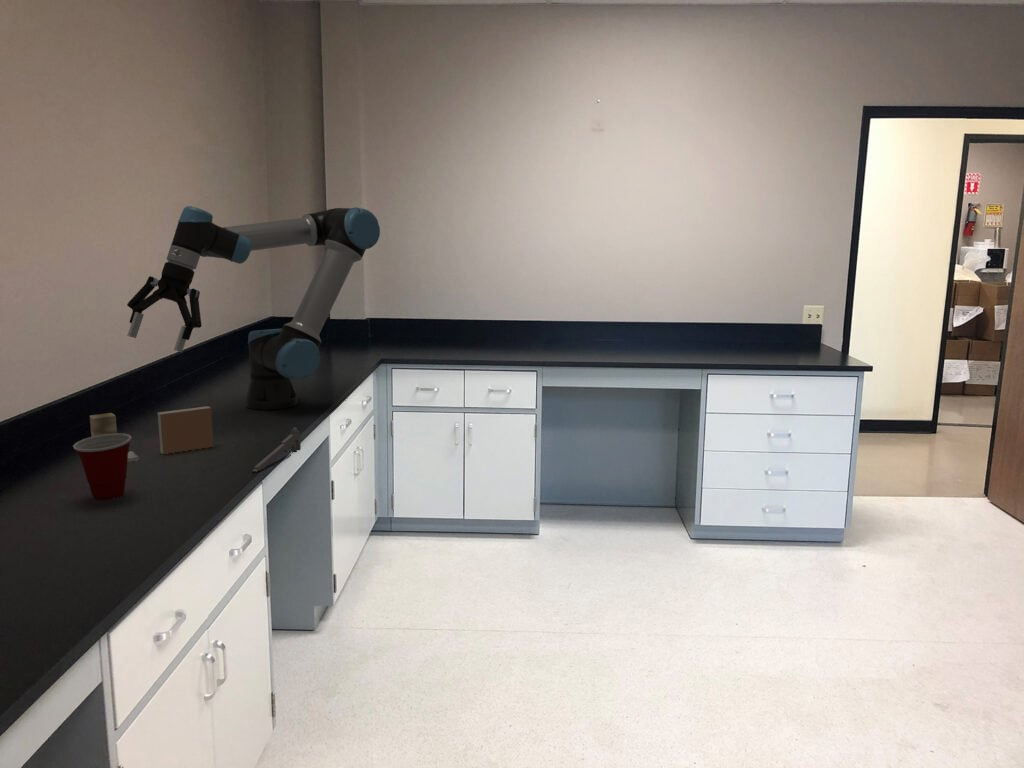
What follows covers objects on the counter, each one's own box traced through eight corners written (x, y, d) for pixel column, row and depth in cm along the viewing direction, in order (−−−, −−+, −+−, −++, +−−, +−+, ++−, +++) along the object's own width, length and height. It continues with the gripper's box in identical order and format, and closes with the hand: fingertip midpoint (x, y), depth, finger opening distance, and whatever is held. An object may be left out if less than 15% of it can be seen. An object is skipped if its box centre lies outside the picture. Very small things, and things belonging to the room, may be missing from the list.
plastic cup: (70, 495, 176) (64, 439, 173) (124, 484, 183) (119, 430, 181) (88, 508, 168) (83, 449, 166) (144, 496, 175) (140, 439, 173)
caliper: (296, 450, 211) (295, 425, 210) (300, 451, 211) (299, 426, 210) (251, 474, 192) (250, 447, 191) (255, 474, 191) (254, 447, 190)
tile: (210, 445, 215) (207, 406, 213) (213, 447, 213) (211, 408, 211) (160, 452, 207) (157, 412, 205) (163, 455, 206) (160, 414, 204)
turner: (114, 440, 219) (112, 407, 217) (139, 460, 201) (136, 425, 199) (80, 445, 214) (77, 411, 212) (102, 466, 196) (98, 430, 194)
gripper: (130, 250, 220) (103, 328, 219) (216, 274, 216) (190, 354, 215) (146, 257, 228) (121, 333, 226) (230, 281, 223) (204, 359, 222)
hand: (154, 344), depth 220 cm, fingers open, 13 cm apart
